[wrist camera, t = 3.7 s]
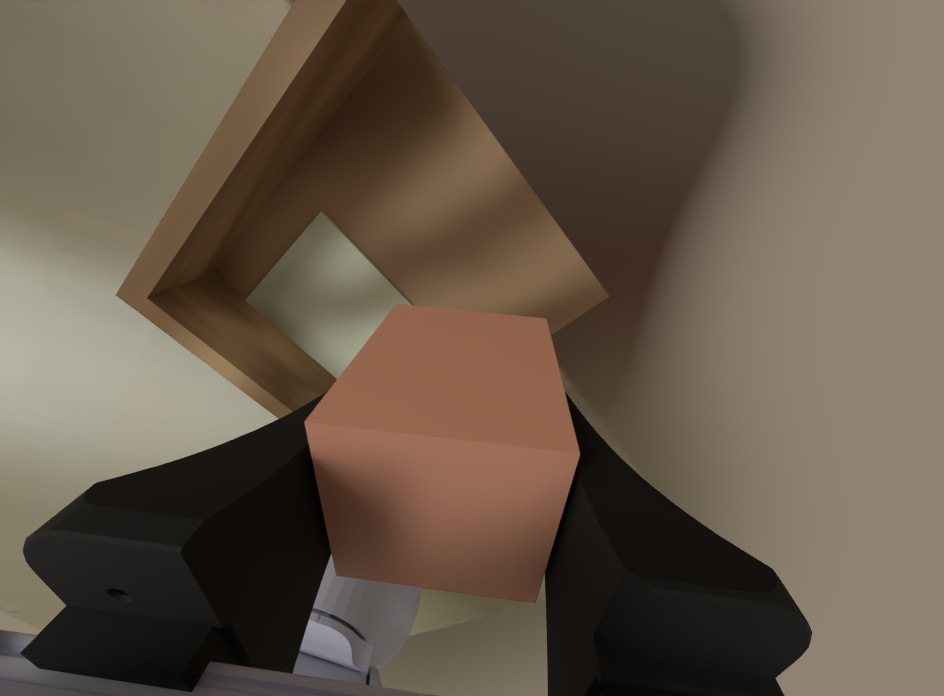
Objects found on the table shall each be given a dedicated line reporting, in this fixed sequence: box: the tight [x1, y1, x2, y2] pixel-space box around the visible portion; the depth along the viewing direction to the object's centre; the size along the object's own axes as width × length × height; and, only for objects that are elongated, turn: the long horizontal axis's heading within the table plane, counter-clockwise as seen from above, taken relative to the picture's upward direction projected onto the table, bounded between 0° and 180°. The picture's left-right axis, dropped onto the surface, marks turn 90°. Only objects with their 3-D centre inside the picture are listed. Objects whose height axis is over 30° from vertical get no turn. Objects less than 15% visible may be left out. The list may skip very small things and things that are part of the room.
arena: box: [116, 0, 609, 419], centre depth 16 cm, size 15×16×5 cm
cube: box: [304, 304, 580, 603], centre depth 10 cm, size 5×5×6 cm
